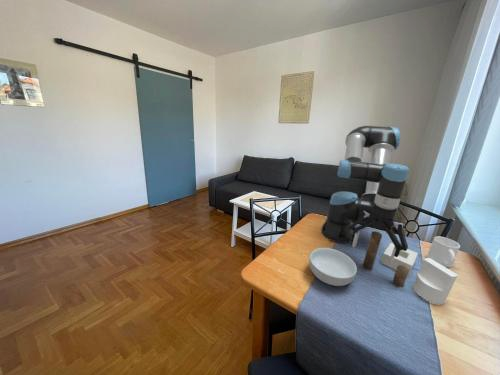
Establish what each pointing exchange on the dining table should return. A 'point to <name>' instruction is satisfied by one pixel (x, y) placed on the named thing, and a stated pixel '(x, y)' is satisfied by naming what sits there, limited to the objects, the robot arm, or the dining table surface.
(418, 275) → the base with upright slab
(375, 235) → the long dowel
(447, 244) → the mug
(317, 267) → the cereal bowl
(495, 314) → the dining table surface
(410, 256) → the hole block
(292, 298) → the dining table surface
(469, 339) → the dining table surface
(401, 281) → the short dowel
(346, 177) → the robot arm
